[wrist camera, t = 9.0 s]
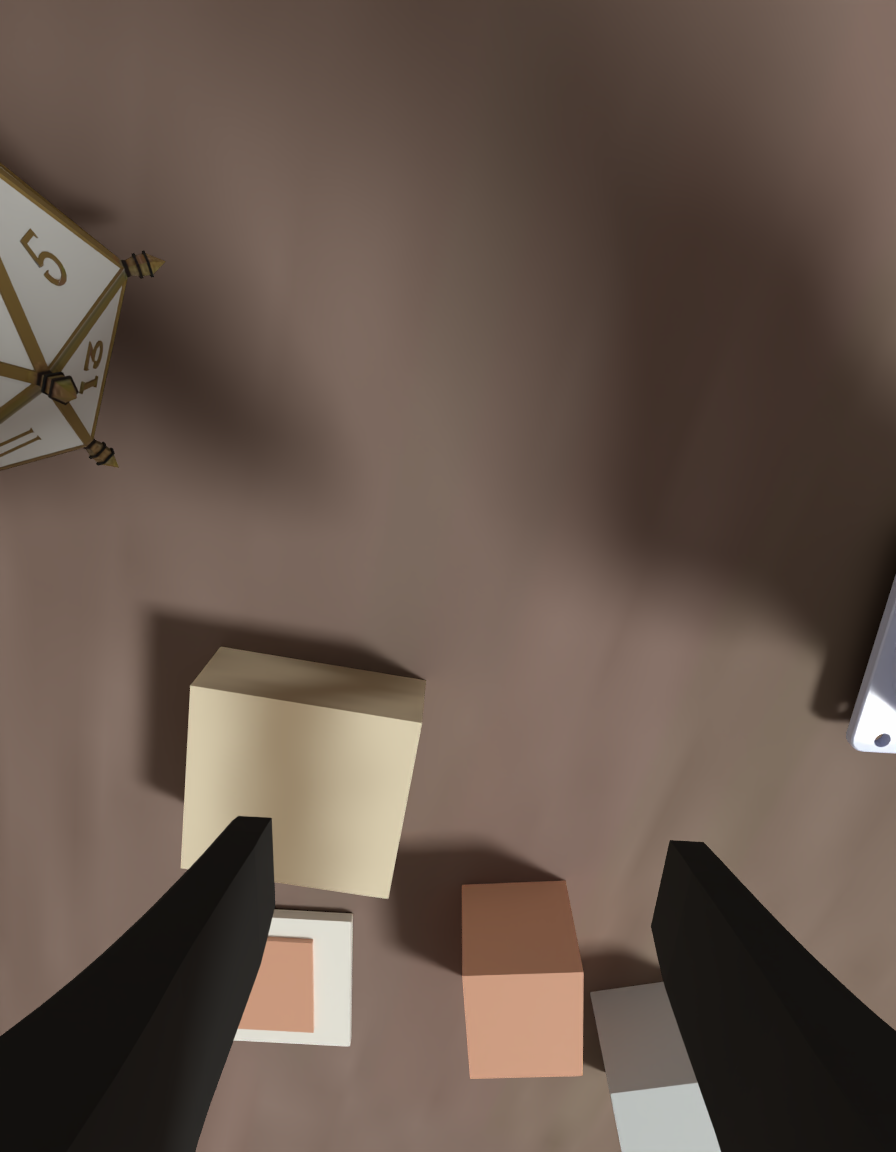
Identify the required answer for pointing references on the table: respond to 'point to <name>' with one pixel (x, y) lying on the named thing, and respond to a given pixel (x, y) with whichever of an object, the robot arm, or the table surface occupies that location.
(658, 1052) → the grey block
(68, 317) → the game die
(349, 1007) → the tile
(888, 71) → the table surface
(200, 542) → the table surface
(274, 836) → the maple block
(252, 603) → the table surface
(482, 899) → the terracotta block
